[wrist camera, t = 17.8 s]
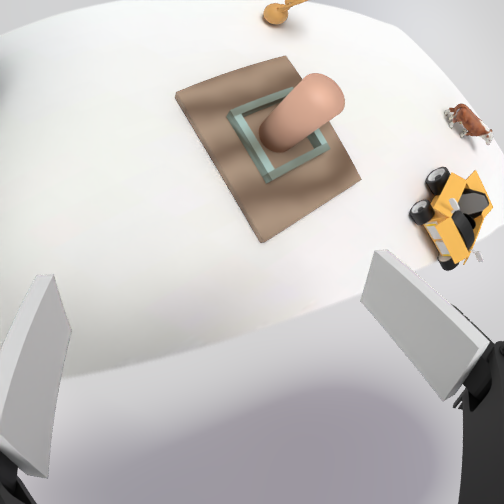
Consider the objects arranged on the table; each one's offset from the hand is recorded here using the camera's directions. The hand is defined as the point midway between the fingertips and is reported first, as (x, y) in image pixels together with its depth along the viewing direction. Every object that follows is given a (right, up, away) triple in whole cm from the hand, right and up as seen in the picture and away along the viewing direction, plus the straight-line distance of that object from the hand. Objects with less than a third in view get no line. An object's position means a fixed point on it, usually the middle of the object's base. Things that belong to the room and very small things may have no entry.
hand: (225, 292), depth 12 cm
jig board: (+4, +17, +28) cm, 33 cm away
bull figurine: (+48, +30, +43) cm, 71 cm away
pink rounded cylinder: (+4, +17, +27) cm, 32 cm away
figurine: (+5, +39, +29) cm, 49 cm away
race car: (+36, +8, +39) cm, 54 cm away
